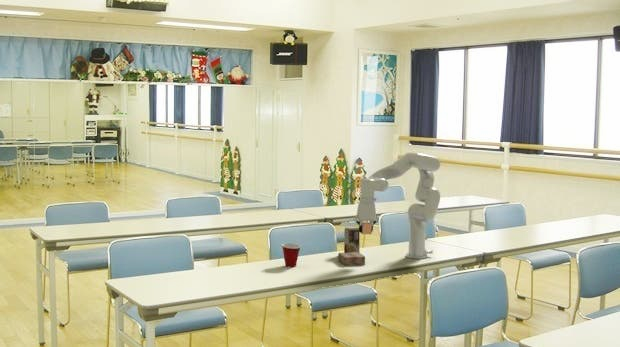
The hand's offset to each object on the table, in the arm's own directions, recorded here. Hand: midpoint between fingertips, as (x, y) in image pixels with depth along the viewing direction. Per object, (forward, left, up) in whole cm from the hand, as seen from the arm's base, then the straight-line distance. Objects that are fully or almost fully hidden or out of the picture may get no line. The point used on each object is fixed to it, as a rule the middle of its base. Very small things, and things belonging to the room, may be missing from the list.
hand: (365, 232), depth 380 cm
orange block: (0, 0, -1) cm, 1 cm away
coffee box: (+3, -20, -18) cm, 28 cm away
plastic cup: (+42, +3, -18) cm, 46 cm away
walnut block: (+7, -2, -18) cm, 20 cm away
